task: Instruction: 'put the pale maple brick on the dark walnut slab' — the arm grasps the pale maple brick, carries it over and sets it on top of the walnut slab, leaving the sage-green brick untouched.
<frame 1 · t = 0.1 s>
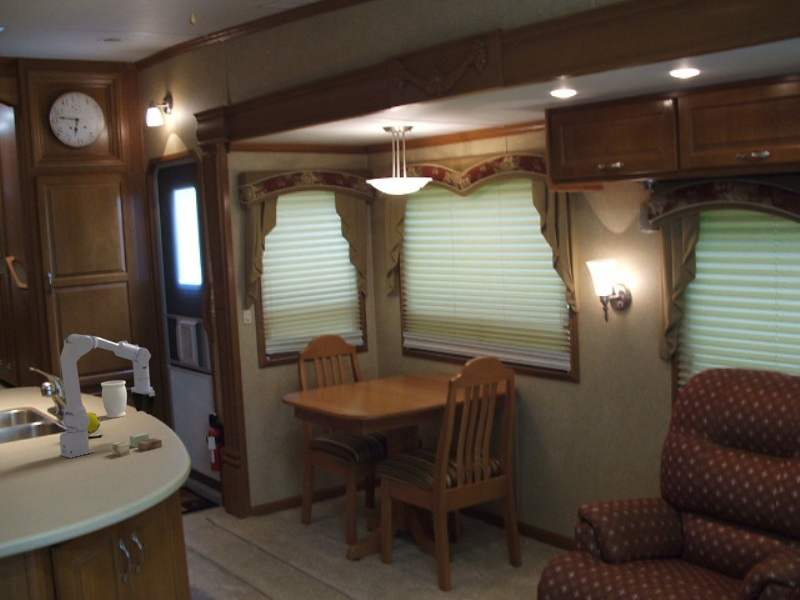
hand: (144, 412, 352), 10 cm above the worktop, tool pointing down, fingers open, 7 cm apart
maple brick: (121, 454, 330), on the worktop
sage brick: (139, 445, 342), on the worktop
walnut slab: (150, 448, 337), on the worktop
toy: (90, 432, 369), on the worktop
jar: (116, 416, 396), on the worktop
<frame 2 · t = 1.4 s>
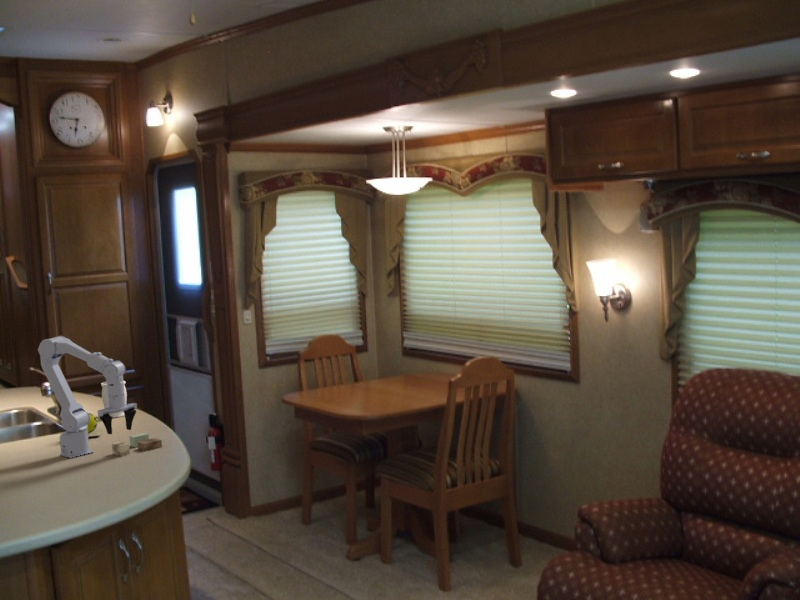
hand: (119, 431, 329), 8 cm above the worktop, tool pointing down, fingers open, 7 cm apart
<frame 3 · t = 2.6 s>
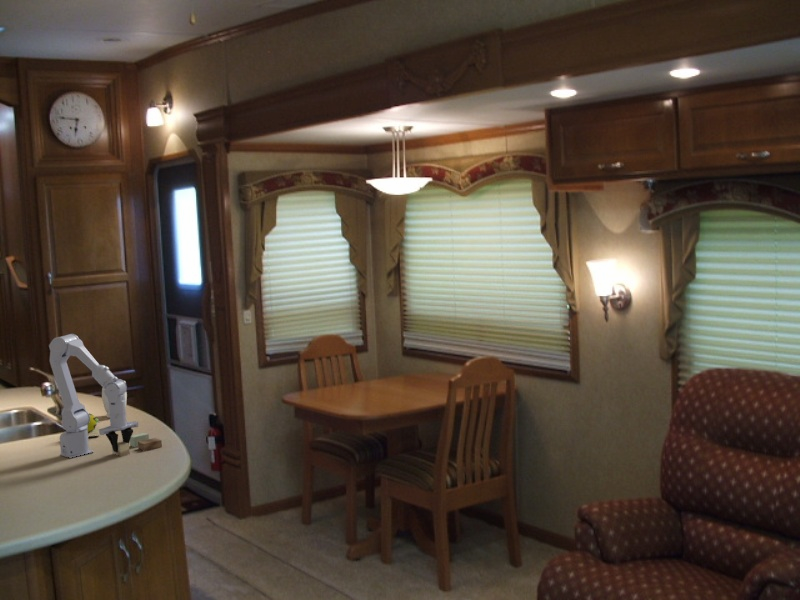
hand: (120, 450, 330), 1 cm above the worktop, tool pointing down, fingers closed on maple brick, 3 cm apart
maple brick: (121, 454, 330), on the worktop, touching gripper
everything else where it was.
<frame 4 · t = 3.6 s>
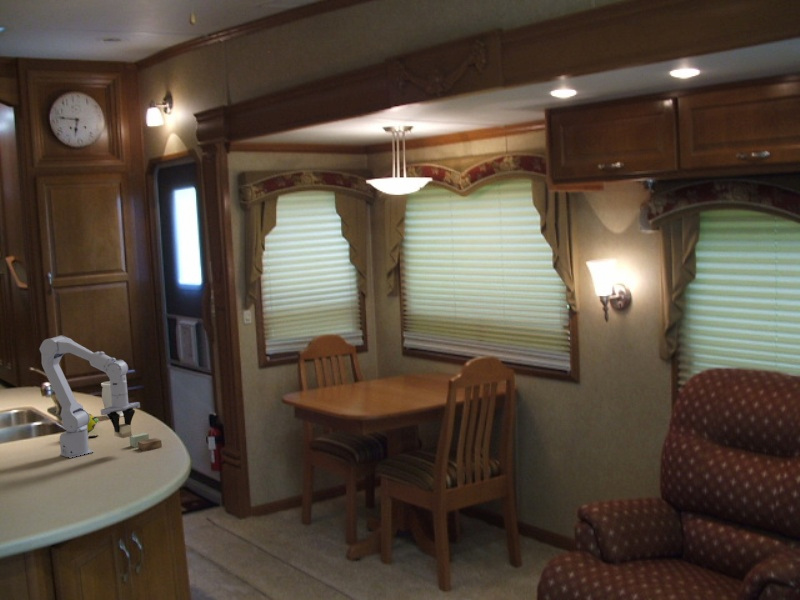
hand: (122, 430, 330), 8 cm above the worktop, tool pointing down, fingers closed on maple brick, 3 cm apart
maple brick: (123, 436, 330), point 7 cm above the worktop, touching gripper
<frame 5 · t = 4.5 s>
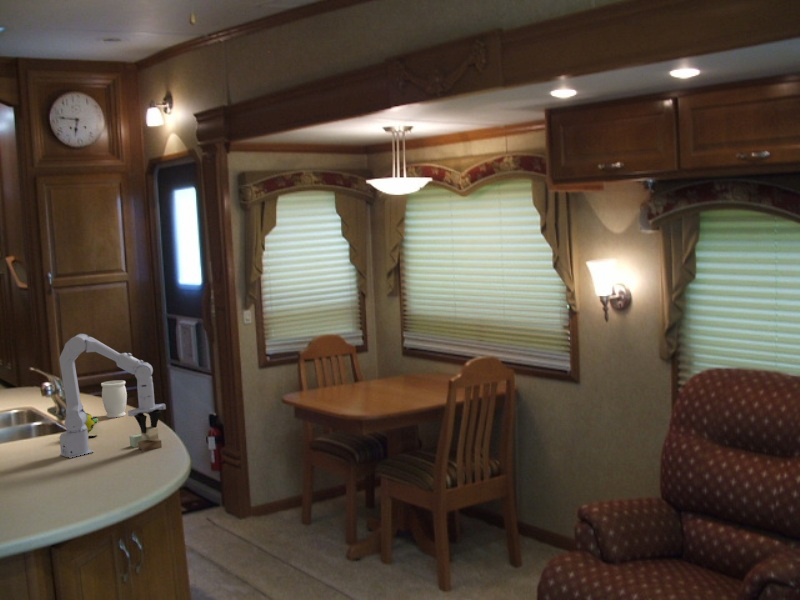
hand: (148, 431, 336), 6 cm above the worktop, tool pointing down, fingers closed on maple brick, 3 cm apart
maple brick: (150, 438, 336), point 4 cm above the worktop, touching gripper
when the fingers open (5 cm above the worktop, at t = 5.0 s): maple brick stays where it is, resting on walnut slab.
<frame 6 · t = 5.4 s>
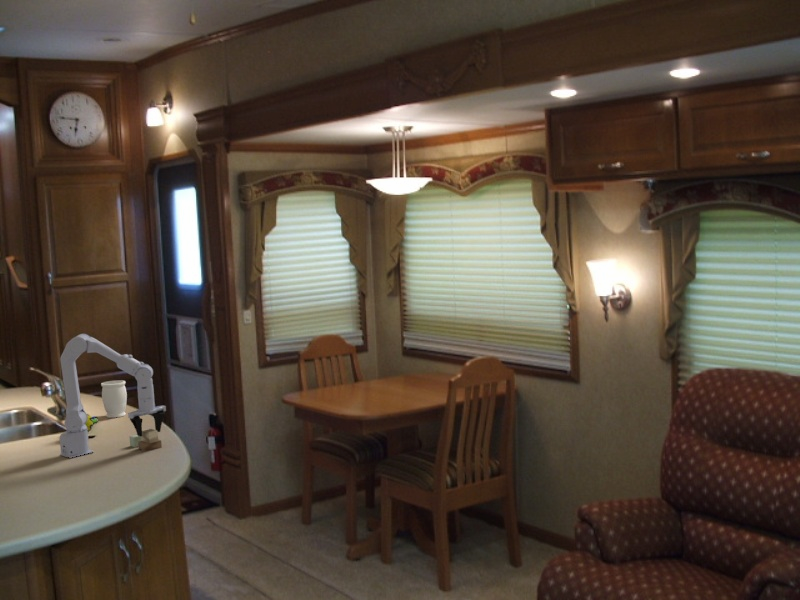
hand: (149, 433, 336), 5 cm above the worktop, tool pointing down, fingers open, 7 cm apart
maple brick: (150, 440, 336), point 3 cm above the worktop, touching walnut slab
walnut slab: (150, 448, 337), on the worktop, touching maple brick
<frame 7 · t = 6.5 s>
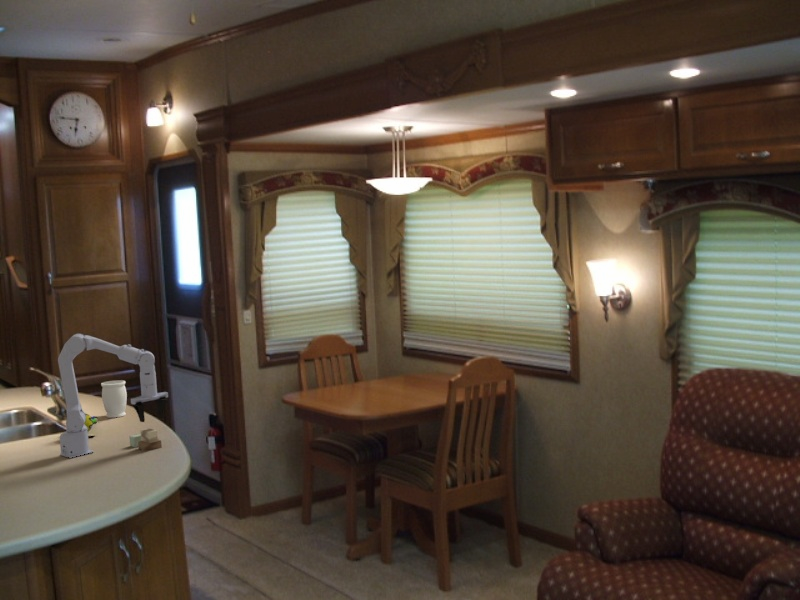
hand: (151, 419, 339), 10 cm above the worktop, tool pointing down, fingers open, 7 cm apart
maple brick: (149, 440, 336), point 3 cm above the worktop
walnut slab: (150, 448, 337), on the worktop
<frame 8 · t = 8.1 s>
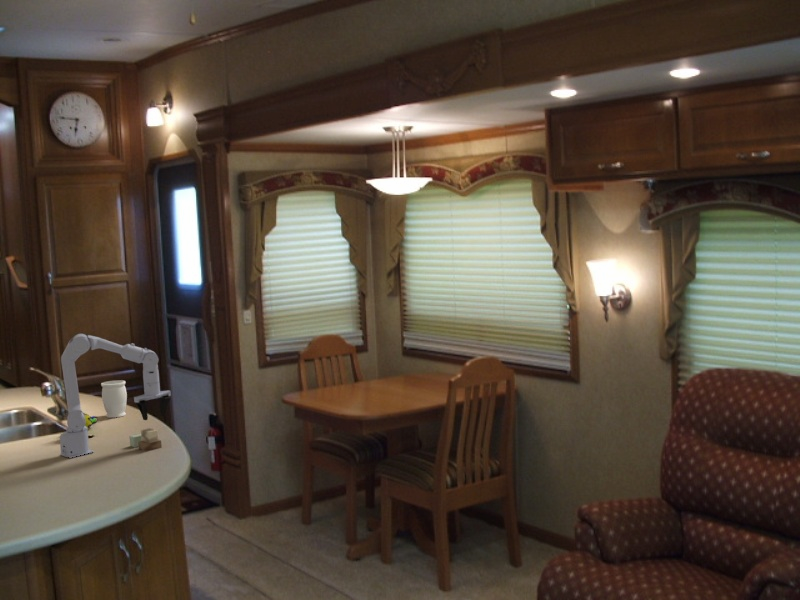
hand: (154, 417, 342), 10 cm above the worktop, tool pointing down, fingers open, 7 cm apart
at the end: maple brick 0.3 cm off-centre on the walnut slab, point 3.1 cm above the walnut slab's base; sage brick moved 0.2 cm from its start; walnut slab moved 0.4 cm from its start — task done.
